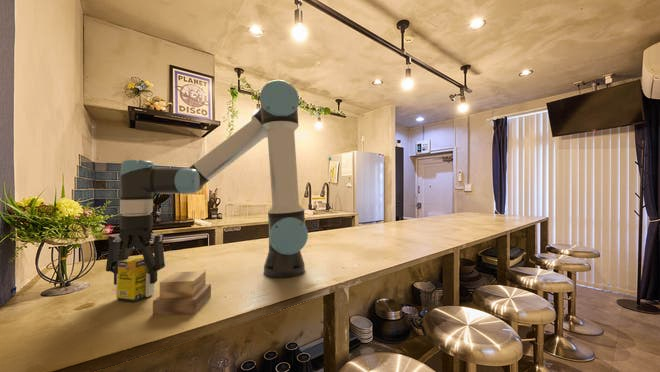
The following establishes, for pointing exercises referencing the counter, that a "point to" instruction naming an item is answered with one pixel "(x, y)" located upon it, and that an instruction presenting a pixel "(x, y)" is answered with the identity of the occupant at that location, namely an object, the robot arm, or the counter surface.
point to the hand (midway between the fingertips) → (135, 295)
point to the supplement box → (132, 279)
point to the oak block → (182, 284)
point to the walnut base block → (182, 303)
